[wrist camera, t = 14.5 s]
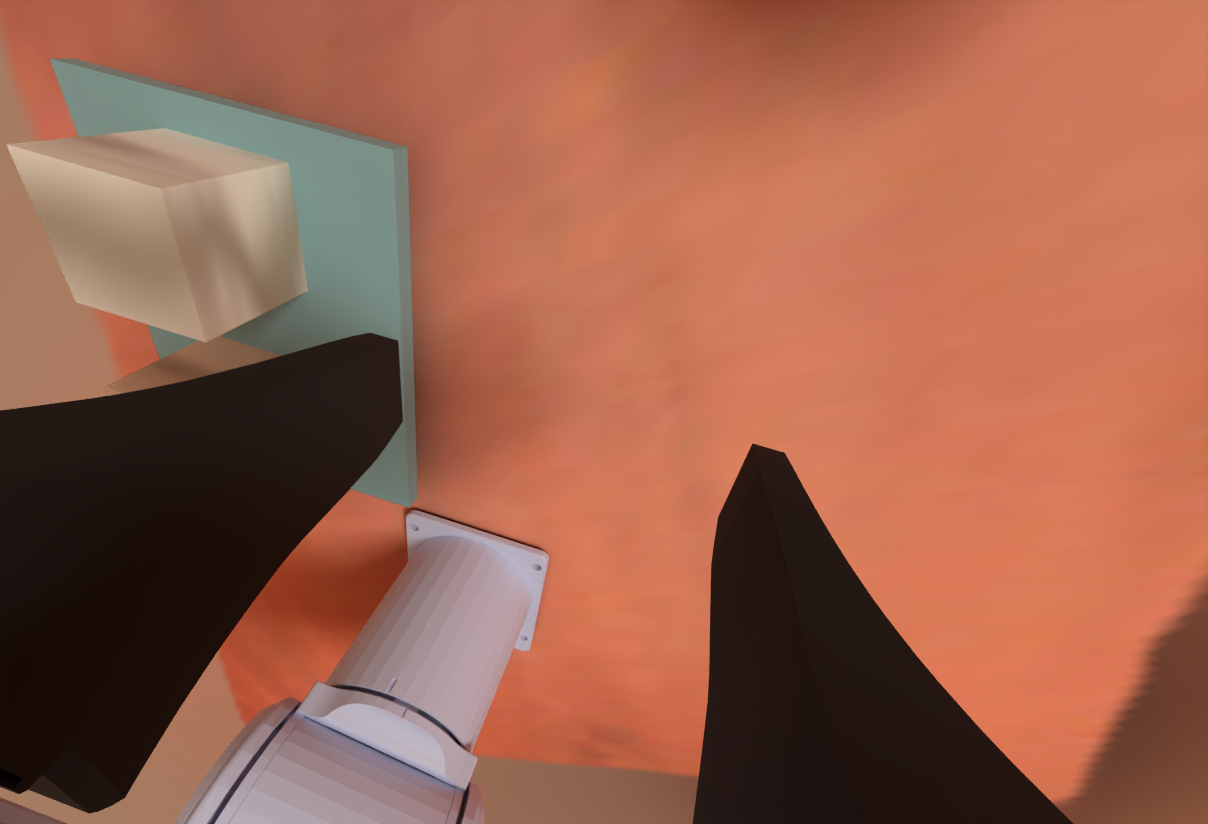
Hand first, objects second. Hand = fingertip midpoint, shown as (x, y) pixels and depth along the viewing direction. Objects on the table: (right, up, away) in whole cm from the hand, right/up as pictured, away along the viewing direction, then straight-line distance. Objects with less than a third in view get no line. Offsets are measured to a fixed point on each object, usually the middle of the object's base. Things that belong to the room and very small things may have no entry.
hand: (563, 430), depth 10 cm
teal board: (-12, +5, +12) cm, 18 cm away
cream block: (-12, +7, +8) cm, 16 cm away
